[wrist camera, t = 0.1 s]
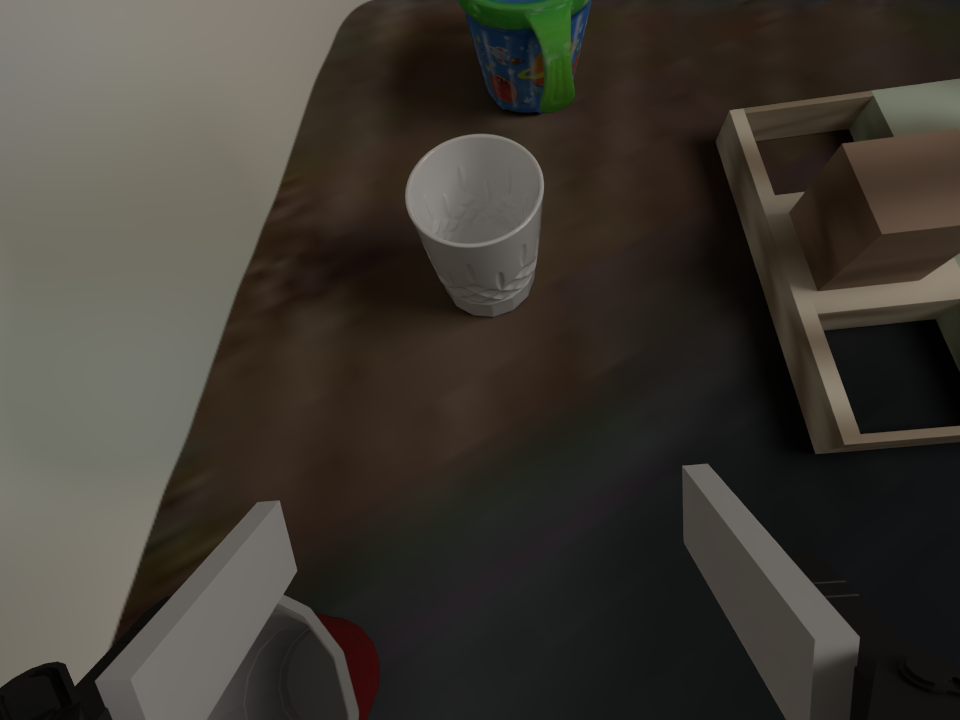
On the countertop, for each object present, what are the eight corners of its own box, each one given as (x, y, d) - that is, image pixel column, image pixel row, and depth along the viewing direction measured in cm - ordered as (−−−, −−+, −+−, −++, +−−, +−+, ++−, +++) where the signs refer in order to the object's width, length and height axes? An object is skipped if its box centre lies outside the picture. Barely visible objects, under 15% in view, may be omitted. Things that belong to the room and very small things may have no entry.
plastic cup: (462, 640, 28) (413, 706, 17) (350, 835, 25) (205, 1064, 14) (322, 534, 31) (203, 529, 20) (209, 698, 28) (-1, 799, 17)
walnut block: (919, 280, 30) (1008, 219, 24) (817, 291, 30) (882, 234, 24) (883, 201, 32) (957, 128, 26) (789, 212, 32) (842, 143, 27)
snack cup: (459, 39, 46) (439, -92, 37) (568, 16, 45) (577, -123, 36) (483, 165, 40) (467, 49, 31) (608, 140, 40) (631, 15, 30)
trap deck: (1099, 430, 28) (1161, 417, 26) (815, 454, 30) (844, 444, 27) (927, 113, 37) (959, 78, 35) (715, 141, 39) (729, 110, 36)
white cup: (520, 220, 38) (515, 116, 29) (557, 304, 35) (565, 218, 26) (426, 253, 38) (390, 159, 29) (455, 339, 35) (426, 266, 26)
